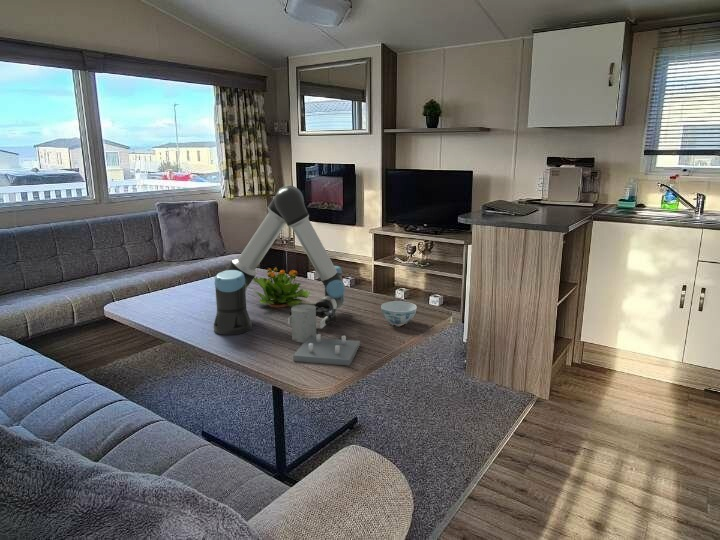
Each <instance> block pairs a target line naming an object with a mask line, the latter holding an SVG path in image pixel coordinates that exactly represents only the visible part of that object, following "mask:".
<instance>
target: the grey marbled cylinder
mask: <svg viewBox="0 0 720 540" xmlns="http://www.w3.org/2000/svg"><path fill="white" fill-rule="evenodd" d="M290 308H291V309H290V311H292V323H291V335H292V337H291V340H292V341H294V342H297V343H304V342H305V341H306V340H307V338H308V337H313V338H316V334H317V316H316V307H315V304H307V303H306V304H303V303H302V304H301V303H300V304H298V305H295V306H293V307H290Z"/></svg>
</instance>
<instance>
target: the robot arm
mask: <svg viewBox="0 0 720 540" xmlns="http://www.w3.org/2000/svg"><path fill="white" fill-rule="evenodd" d="M304 199H305V198H304V195H303V193H302V191H301V190H300V189H299V188H298V187H296V186H294V185H284V186H282V187H281V188H279V189H278V191H277V192H276V194H275V196H274V197H273V198H272V201H271V202H270V203H269V204H268V206H267V211H268V213H267V214H266V216H265V217H264V219H263V220H262V222H261V223H260V225H259V226H258V228H257V230H256V231H255V233H254V234H253V235H252V237H251V238H250V240H249V242H248V243H247V245H246V246H245V247H244V248H243V250H242V252H241V253H240V255H239V256H238V258H235V259H232V260H231V262H230V263H229V265H228V266H227V268H226V269H225V270H223V271H220V272H218V273H217V274H216V275H215V277H214V286H215V287H214V288H215V302H216V315H215V318H214V321H213V322H214V323H213V332H214V333H216V334H219V335H224V336H231V335H232V336H233V335H241V334H243V333H246V332H249V331H250V330H252V328H253V327H252V320H251V318H250V314H249V313H248V310H247V295H246V294H247V293H246V292H247V289H248V287H249V286H250V284H252V281H253V278H256V275H257V273H256V269H257V268H258V267H259V265H260V263H261V262H262V261H263V259H264V258H265V256H266V254H267V253H268V251H269V250H270V248H271V247H272V245H274V242H275V241H276V239H277V238H278V237H279V235H280V233H281V232H282V230H283V229H284V227H285V226H286V225H287V227H289V228H291V229H292V231H293V232H294V235H295V236H296V238H297V239H298V242H299V243H300V245H301V246H302V247H301V248H302V249H303V250H304V252H305V254H306V255H307V257H308V259H309V261H310V263H311V264H312V266H313V267H314V268H313V269H314V270H315V271H316V274H318V277H319V279H320V280H321V282H322V285H323V286H324V297H322V298H321V299H320V300H318V301H317V302H315V304H314V306H315V307H316V317H319V318H320V319H321V320H320V321H319V329H323V328H324V327H325V326H326V325H329V324H331V323H332V322H333V323H337V314H336V313H337V312H336V311H337V310H339V309H340V308H341V307H342V305H343V304H344V303H345V299H346V298H345V293H346V291H345V290H346V286H345V283H344V281H343V278H342V277H343V275H342V274H343V272H342V268H341V266H339V265H334V263H333V262H332V259H331V258H330V256H329V254H328V252H327V250H326V247H325V246H324V245H323V243H322V241H321V240H320V238H319V237H320V236H318V234H317V232H316V230H315V228H314V226H313V224H312V223H311V221H310V219H309V217H310V213H309V212H308V209H307V208H306V205H305V200H304ZM288 316H289V317H287V325H289V326H290V325H292V311H291V310H290V311H289V315H288Z"/></svg>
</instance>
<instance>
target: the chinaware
mask: <svg viewBox="0 0 720 540" xmlns="http://www.w3.org/2000/svg"><path fill="white" fill-rule="evenodd" d="M380 308H381V312H382V315H383V316H384V318H385V320H387V321H388V322H390V324H391V323H392V324H397V325H398V324H405V323H406V324H408V323H409V322H410V321H411V320H413V318H414V316H415V315H416V311H417V308H418V307H417V305H416V304H414V303H412V302H409V301H404V300H403V301H401V300H400V301H399V300H396V301H394V300H393V301H392V300H391V301H388V302H384V303H382V304H381V305H380Z"/></svg>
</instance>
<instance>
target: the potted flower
mask: <svg viewBox="0 0 720 540" xmlns="http://www.w3.org/2000/svg"><path fill="white" fill-rule="evenodd" d="M278 271H279V272H278ZM266 273H267V277H268V278H266V277H256V276H255V277H254V278H253V280H252V281H253V282H254V283H257V284H258V285H259V287H261V288H262V291H263V294H262V293H260V292H258V291H256V290H255V289H252V291H253V292H255V294H256V295H258V296H259V297H260V299H259V303H260V304H267V305H269V307H270V308H274V307H275V308H277V309H278V308H280V307H281V308H286V307H290V308H292V307H293V306H295V305H300V304H301V303H304V302H303V299H300V298H306V299H308V297H309V295H310V293H311V291H309V290H307V289H305V290H304V289H303V288H300V286H301V282H298V283H297V281H295V279H297V278H296V277H297V275H298V271H297V270H294V269H292V270H290V271H289V272H288V274H287V273H286V270H284V269H281V270H278V268H277V267H274V268H273V270H272V268H267V270H266ZM292 281H293V283H292ZM299 288H300V289H299Z"/></svg>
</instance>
